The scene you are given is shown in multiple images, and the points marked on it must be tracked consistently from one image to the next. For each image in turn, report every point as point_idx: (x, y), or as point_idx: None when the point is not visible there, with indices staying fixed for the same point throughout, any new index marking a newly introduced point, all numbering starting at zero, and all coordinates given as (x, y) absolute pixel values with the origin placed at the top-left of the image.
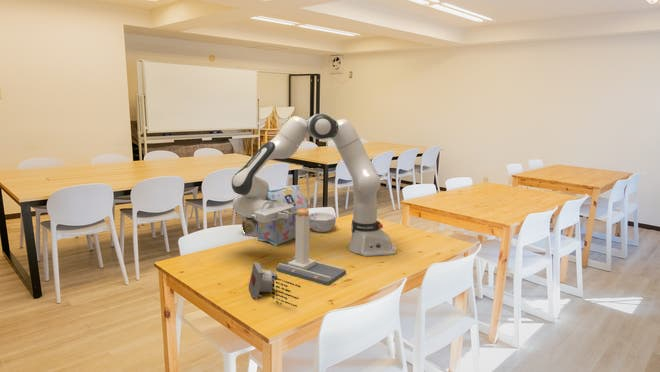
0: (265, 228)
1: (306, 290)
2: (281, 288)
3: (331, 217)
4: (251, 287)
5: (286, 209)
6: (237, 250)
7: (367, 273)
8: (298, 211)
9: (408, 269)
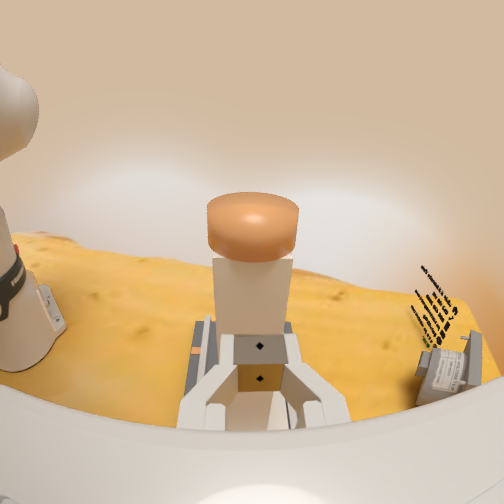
0: None
1: (344, 346)
2: (436, 310)
3: None
4: None
5: (137, 424)
6: None
7: (170, 298)
8: (298, 212)
9: (121, 260)
